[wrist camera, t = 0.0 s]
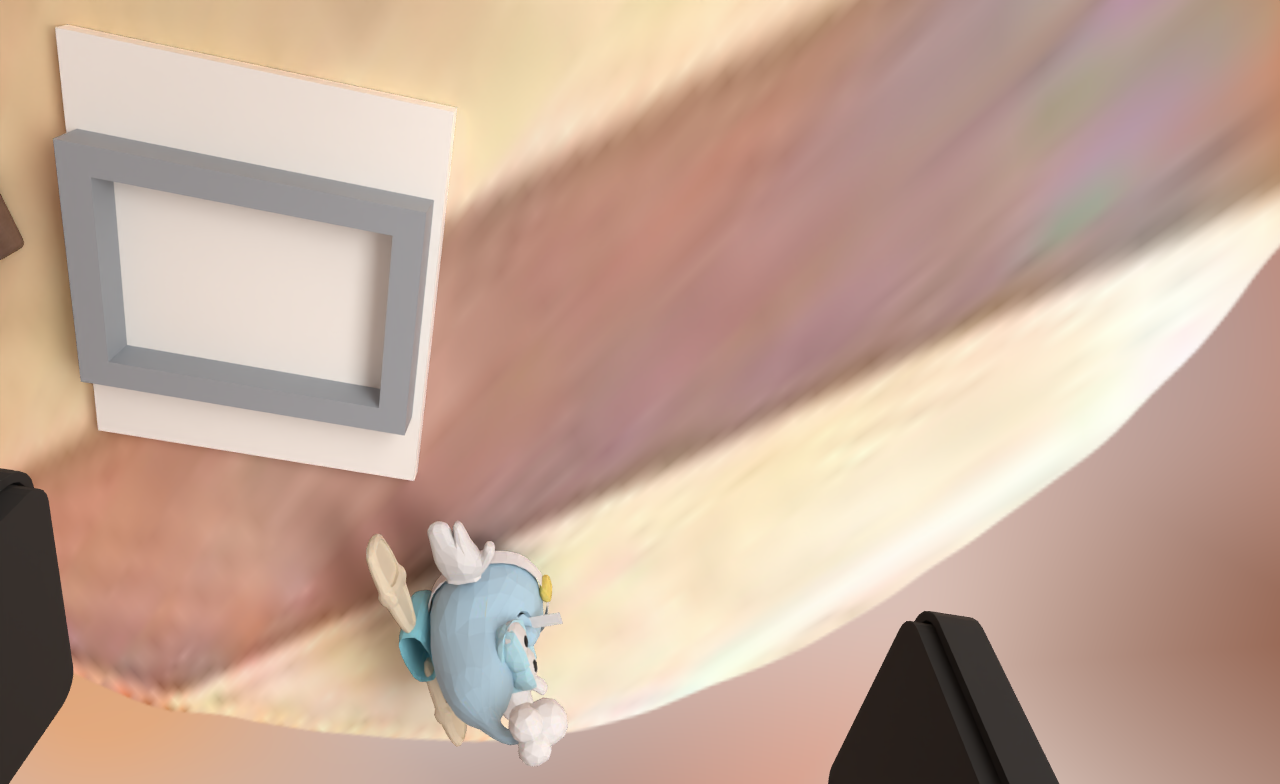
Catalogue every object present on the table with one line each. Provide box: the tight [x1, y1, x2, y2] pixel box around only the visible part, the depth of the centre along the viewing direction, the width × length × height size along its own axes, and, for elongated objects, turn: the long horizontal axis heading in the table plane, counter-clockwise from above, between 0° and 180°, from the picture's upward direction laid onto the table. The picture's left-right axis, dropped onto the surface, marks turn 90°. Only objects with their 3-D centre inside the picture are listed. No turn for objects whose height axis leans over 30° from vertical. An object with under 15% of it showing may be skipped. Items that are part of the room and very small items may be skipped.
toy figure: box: [366, 521, 568, 766], centre depth 51 cm, size 17×10×15 cm, turn 12°
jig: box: [53, 24, 457, 481], centre depth 45 cm, size 22×18×3 cm
